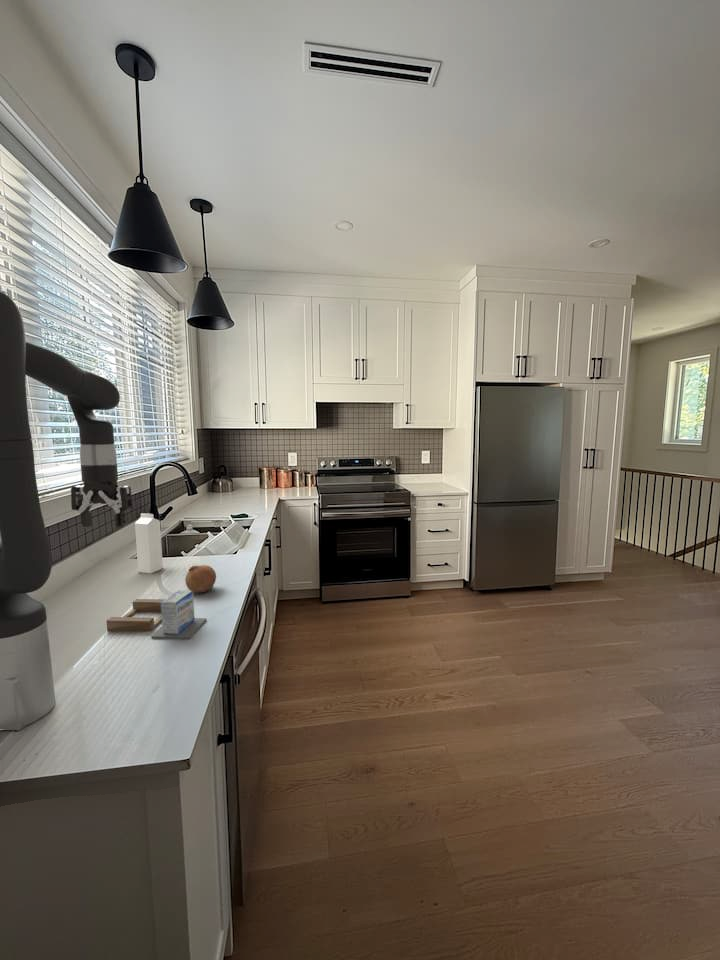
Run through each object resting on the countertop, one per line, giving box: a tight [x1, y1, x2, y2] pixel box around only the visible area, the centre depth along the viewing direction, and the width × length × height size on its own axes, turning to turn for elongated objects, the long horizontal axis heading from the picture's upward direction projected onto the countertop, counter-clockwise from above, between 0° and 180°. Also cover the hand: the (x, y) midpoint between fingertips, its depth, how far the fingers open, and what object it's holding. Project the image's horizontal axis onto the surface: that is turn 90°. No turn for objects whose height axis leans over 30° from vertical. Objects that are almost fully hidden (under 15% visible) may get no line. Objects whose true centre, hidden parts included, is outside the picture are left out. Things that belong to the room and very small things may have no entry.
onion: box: [184, 564, 217, 594], centre depth 130 cm, size 10×9×10 cm
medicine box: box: [160, 589, 196, 634], centre depth 105 cm, size 8×4×9 cm, turn 171°
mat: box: [150, 617, 207, 640], centre depth 105 cm, size 10×10×1 cm
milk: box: [134, 512, 164, 574], centre depth 149 cm, size 6×6×22 cm
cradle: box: [106, 598, 166, 633], centre depth 110 cm, size 13×12×3 cm
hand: (104, 526), depth 99 cm, fingers open, 8 cm apart
